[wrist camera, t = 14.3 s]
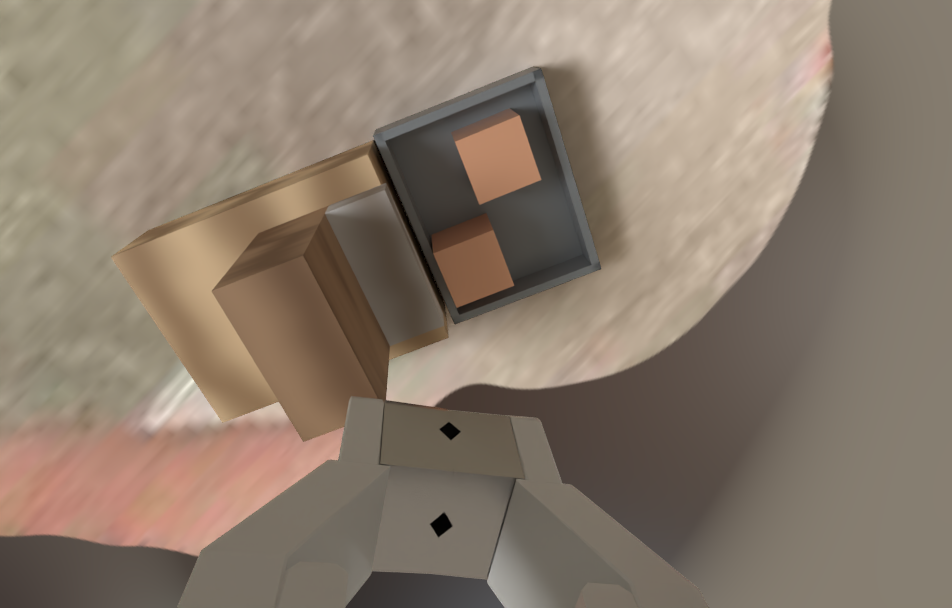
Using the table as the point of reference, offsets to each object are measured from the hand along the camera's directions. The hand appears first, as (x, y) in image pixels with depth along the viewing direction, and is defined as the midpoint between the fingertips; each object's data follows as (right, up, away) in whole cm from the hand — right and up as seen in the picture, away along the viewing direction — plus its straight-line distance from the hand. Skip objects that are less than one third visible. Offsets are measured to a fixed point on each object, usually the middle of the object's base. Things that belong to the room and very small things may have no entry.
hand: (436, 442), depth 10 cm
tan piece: (-13, +5, +37) cm, 40 cm away
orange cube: (+2, +12, +30) cm, 33 cm away
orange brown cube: (-2, +5, +35) cm, 36 cm away
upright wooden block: (-8, +4, +31) cm, 33 cm away
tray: (+2, +10, +36) cm, 38 cm away
